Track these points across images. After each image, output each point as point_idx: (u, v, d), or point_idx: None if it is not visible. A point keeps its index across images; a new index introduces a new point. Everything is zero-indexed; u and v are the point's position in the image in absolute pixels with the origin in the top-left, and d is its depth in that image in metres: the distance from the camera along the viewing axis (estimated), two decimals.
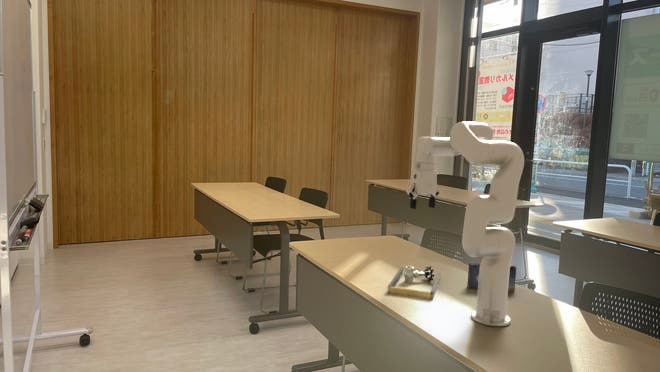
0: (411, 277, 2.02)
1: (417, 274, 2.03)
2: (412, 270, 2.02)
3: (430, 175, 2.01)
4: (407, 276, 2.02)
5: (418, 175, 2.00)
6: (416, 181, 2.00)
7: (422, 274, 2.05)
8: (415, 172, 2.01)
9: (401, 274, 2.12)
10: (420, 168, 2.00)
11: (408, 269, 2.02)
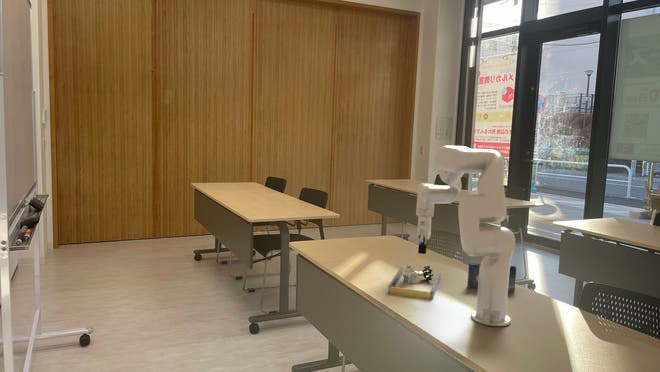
0: (410, 277, 2.02)
1: (416, 274, 2.04)
2: (411, 270, 2.02)
3: None
4: (406, 276, 2.02)
5: (427, 221, 2.09)
6: (425, 227, 2.09)
7: (421, 274, 2.05)
8: (422, 219, 2.10)
9: (401, 274, 2.12)
10: (427, 214, 2.10)
11: (407, 269, 2.02)
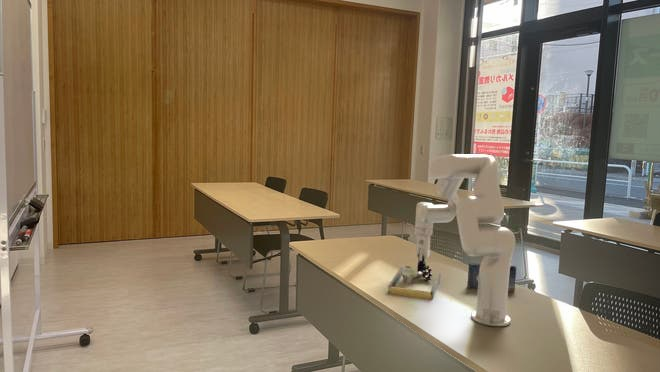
0: (409, 277, 2.02)
1: (415, 274, 2.04)
2: (410, 270, 2.02)
3: None
4: (405, 276, 2.02)
5: (426, 240, 2.09)
6: (424, 246, 2.09)
7: (420, 274, 2.05)
8: (421, 238, 2.10)
9: (401, 274, 2.12)
10: (425, 233, 2.10)
11: (406, 269, 2.02)
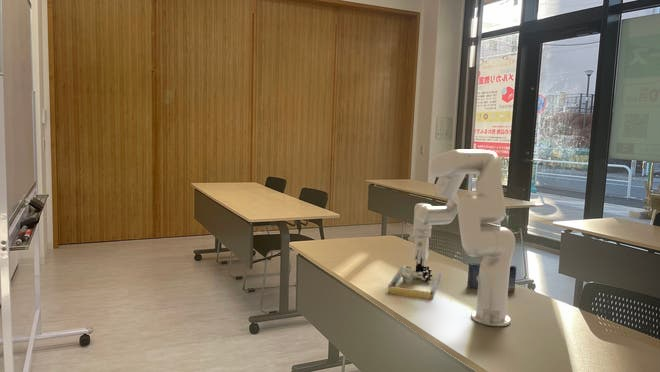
0: (409, 277, 2.01)
1: (415, 274, 2.03)
2: (410, 270, 2.01)
3: (428, 240, 2.09)
4: (405, 276, 2.01)
5: (424, 243, 2.05)
6: (422, 249, 2.05)
7: (420, 274, 2.04)
8: (419, 240, 2.05)
9: (401, 274, 2.12)
10: (424, 235, 2.05)
11: (406, 269, 2.01)
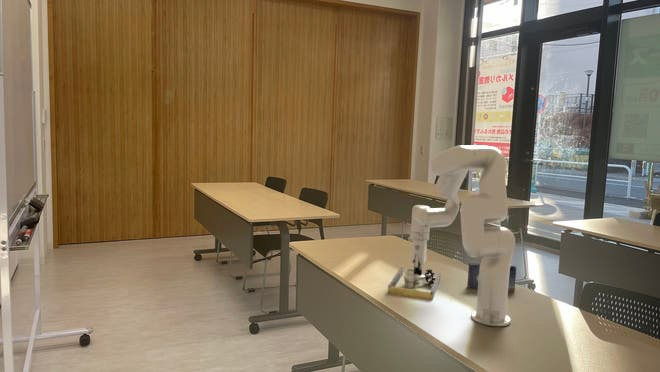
0: (411, 281, 1.97)
1: (417, 277, 1.98)
2: (412, 273, 1.97)
3: (426, 243, 2.03)
4: (407, 279, 1.97)
5: (422, 246, 1.99)
6: (420, 252, 1.99)
7: (423, 277, 2.00)
8: (417, 243, 1.99)
9: (401, 274, 2.12)
10: (422, 238, 2.00)
11: (408, 272, 1.97)
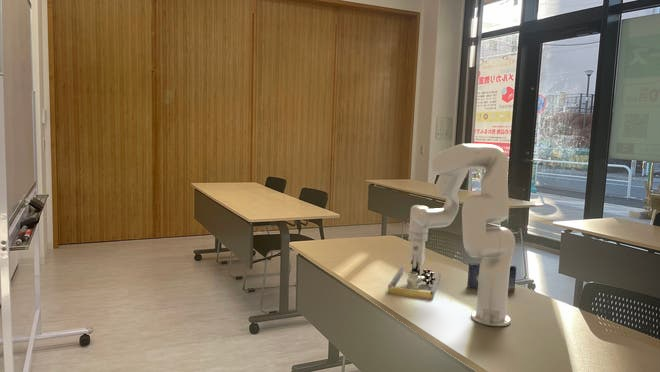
0: (416, 283, 1.94)
1: (420, 279, 1.96)
2: (417, 276, 1.94)
3: (424, 243, 2.01)
4: (412, 282, 1.93)
5: (420, 246, 1.96)
6: (418, 253, 1.96)
7: (423, 279, 1.98)
8: (415, 243, 1.97)
9: (401, 274, 2.12)
10: (420, 239, 1.97)
11: (413, 275, 1.93)
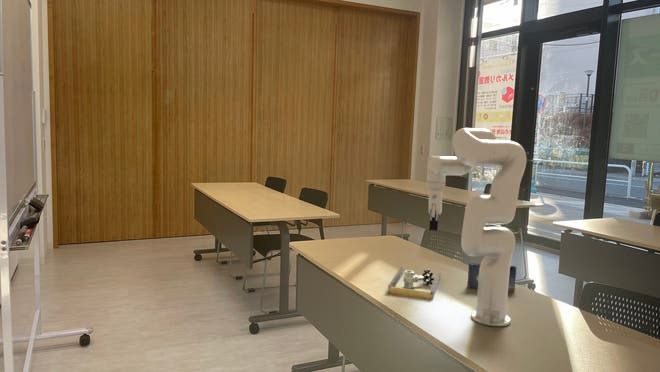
0: (411, 282, 1.96)
1: (417, 278, 1.97)
2: (412, 275, 1.96)
3: None
4: (407, 281, 1.95)
5: (438, 195, 1.99)
6: (437, 201, 1.99)
7: (421, 278, 1.99)
8: (433, 192, 1.99)
9: (401, 274, 2.12)
10: (438, 188, 2.00)
11: (408, 274, 1.95)
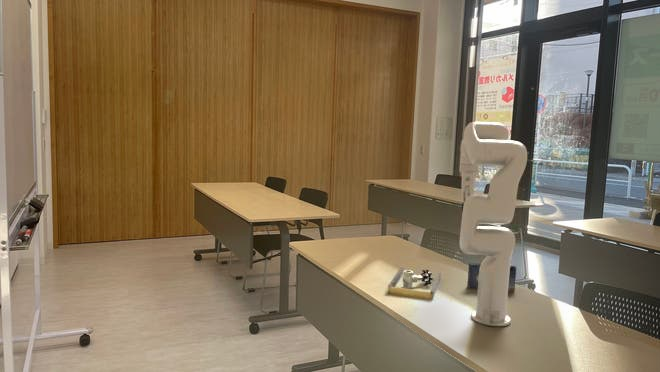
0: (410, 282, 1.96)
1: (416, 278, 1.97)
2: (411, 274, 1.96)
3: None
4: (406, 281, 1.95)
5: (472, 177, 2.00)
6: (470, 184, 2.00)
7: (420, 278, 1.99)
8: (467, 175, 2.00)
9: (401, 274, 2.12)
10: (471, 170, 2.01)
11: (407, 274, 1.95)
